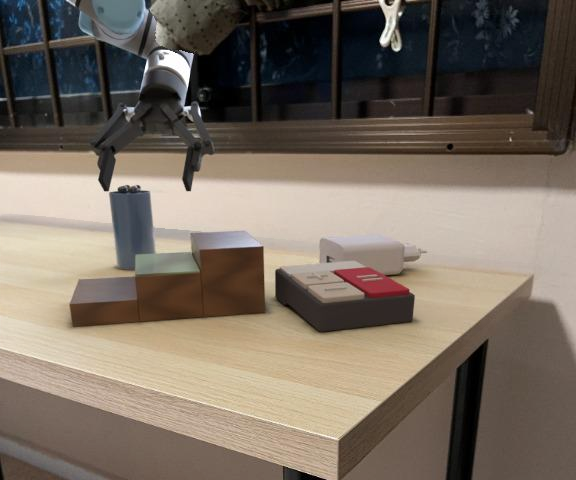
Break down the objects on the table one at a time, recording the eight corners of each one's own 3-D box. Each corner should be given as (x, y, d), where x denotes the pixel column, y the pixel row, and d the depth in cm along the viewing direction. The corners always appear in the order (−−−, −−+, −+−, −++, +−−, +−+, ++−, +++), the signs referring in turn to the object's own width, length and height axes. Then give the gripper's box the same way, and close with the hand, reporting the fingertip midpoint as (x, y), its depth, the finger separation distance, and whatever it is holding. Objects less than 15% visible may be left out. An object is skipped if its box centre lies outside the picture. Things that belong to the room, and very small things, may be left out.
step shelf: (72, 326, 65) (62, 256, 62) (81, 299, 76) (72, 238, 73) (265, 312, 69) (263, 246, 67) (247, 288, 80) (245, 230, 77)
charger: (438, 273, 88) (342, 281, 84) (407, 261, 96) (318, 268, 92) (441, 239, 86) (343, 246, 82) (410, 230, 94) (319, 236, 90)
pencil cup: (125, 261, 98) (117, 184, 93) (162, 262, 97) (155, 184, 92) (111, 269, 92) (101, 187, 88) (149, 270, 92) (141, 187, 87)
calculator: (320, 297, 61) (274, 262, 73) (319, 338, 63) (274, 296, 75) (417, 288, 64) (356, 256, 77) (413, 326, 66) (354, 289, 79)
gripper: (86, 69, 102) (59, 169, 94) (232, 65, 99) (217, 168, 91) (103, 105, 109) (79, 201, 101) (239, 102, 106) (226, 201, 98)
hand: (144, 185), depth 96 cm, fingers open, 13 cm apart
